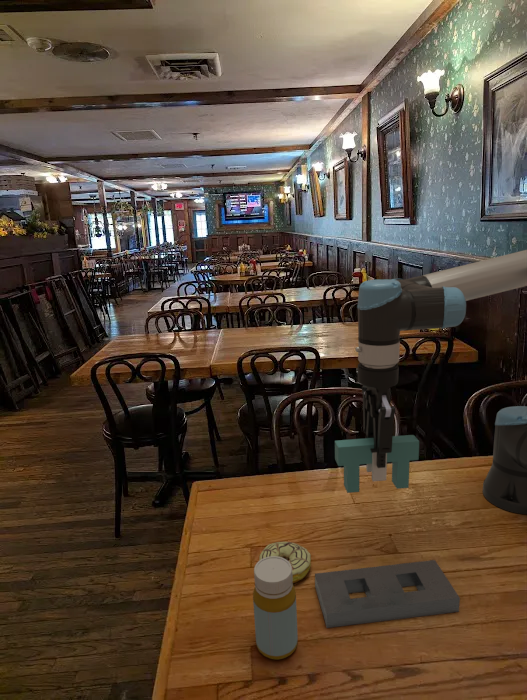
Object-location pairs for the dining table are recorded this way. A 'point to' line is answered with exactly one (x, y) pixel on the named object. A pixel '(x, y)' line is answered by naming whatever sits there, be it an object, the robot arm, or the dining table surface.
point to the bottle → (275, 608)
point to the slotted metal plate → (385, 593)
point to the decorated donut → (290, 557)
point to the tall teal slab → (360, 453)
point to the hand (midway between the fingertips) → (376, 474)
